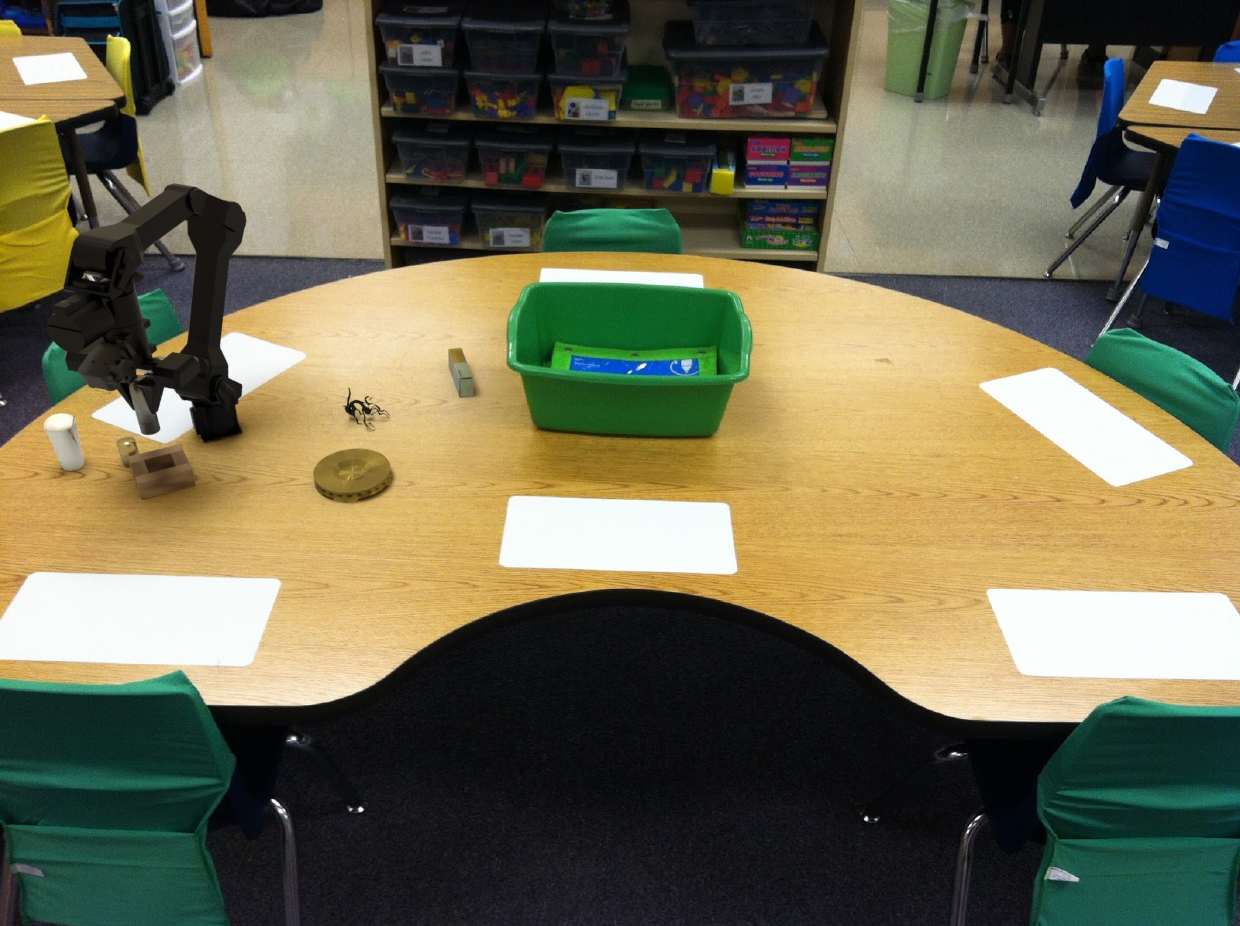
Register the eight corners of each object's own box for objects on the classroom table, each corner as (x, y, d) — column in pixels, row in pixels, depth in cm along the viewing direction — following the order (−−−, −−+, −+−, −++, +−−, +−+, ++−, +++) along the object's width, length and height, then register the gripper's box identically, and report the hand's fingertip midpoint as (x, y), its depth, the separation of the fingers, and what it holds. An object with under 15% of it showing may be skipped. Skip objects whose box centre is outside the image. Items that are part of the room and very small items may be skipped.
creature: (391, 412, 185) (345, 404, 184) (395, 387, 182) (349, 378, 181) (385, 437, 179) (338, 428, 177) (389, 411, 176) (342, 402, 174)
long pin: (158, 423, 161) (145, 373, 156) (162, 432, 159) (149, 381, 154) (139, 427, 160) (125, 377, 154) (142, 436, 158) (128, 386, 152)
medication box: (474, 397, 189) (474, 378, 186) (459, 398, 188) (459, 379, 186) (461, 365, 198) (461, 346, 196) (447, 366, 197) (447, 347, 195)
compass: (300, 480, 166) (298, 469, 165) (362, 450, 174) (361, 439, 172) (344, 513, 160) (342, 502, 159) (406, 481, 167) (405, 470, 166)
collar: (184, 458, 169) (180, 443, 167) (196, 484, 164) (192, 469, 162) (132, 472, 166) (127, 456, 164) (142, 499, 160) (137, 483, 158)
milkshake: (82, 476, 164) (65, 423, 158) (51, 471, 165) (33, 418, 159) (99, 460, 168) (83, 407, 162) (69, 455, 169) (52, 403, 163)
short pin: (139, 455, 169) (133, 434, 167) (142, 464, 168) (137, 443, 165) (120, 459, 168) (114, 439, 166) (124, 468, 166) (118, 448, 164)
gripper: (24, 335, 143) (56, 429, 153) (145, 356, 140) (169, 451, 149) (77, 300, 152) (104, 390, 161) (192, 319, 149) (212, 410, 158)
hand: (145, 411), depth 157 cm, fingers closed on long pin, 3 cm apart
